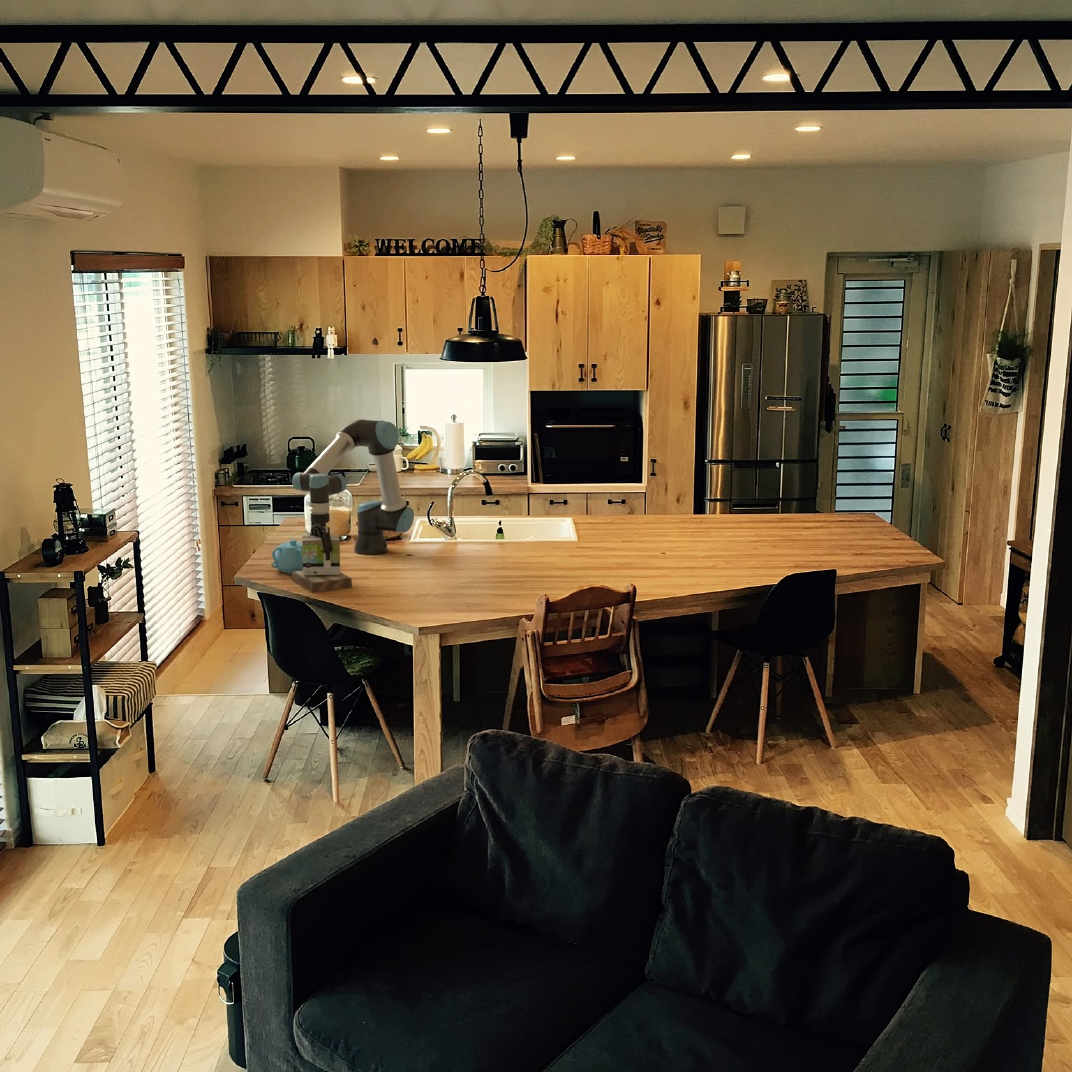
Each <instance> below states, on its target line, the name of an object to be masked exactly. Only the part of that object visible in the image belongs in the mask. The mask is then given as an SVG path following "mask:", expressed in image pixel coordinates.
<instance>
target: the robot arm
mask: <svg viewBox="0 0 1072 1072" xmlns="http://www.w3.org/2000/svg"><path fill="white" fill-rule="evenodd" d="M398 444H399V431H398V428H397V426H396V425H395V424H394V423H392V422H391V421H387V420H372V419H357V420H353V421H351V422H350V423H347V424H346V425H344V427H342V428H341V429H340V430H339V431H337V433H336V434H335V436H334V439H333V440H332V441H331V442H330V444H329V445H328V446H327V447H326V448H325V449H324V450H323V451H322V452H321V453H320V454H319V456H317V457H316V459H315V460H314V461H313V462H312V463H311V464H310V466H308V467H307V468H306V469H305V471H303V472H296V473H295V474H294V475H293V476H292V479H291V481H292V482H291V484H292V487H293V489H294V490H296V491H300V492H308V493H309V498H310V499H309V505H308V506H309V508H310V512H311V513H310V531H309V532H310V534H309V536H319V538H321V540H322V544H323V548H324V551H323V558H324V568H331V556H330V552H332V551H333V548H332V542H331V537H330V535H331V532H330V531H331V530H330V527H328V526H327V523H329V522H330V513H329V512H330V496H333V495H336V494H340V493H342V492H344V491H345V490H346V489H347V485H348V483H347V480H346V478H345V476H344V475H342V474H333V475H330V474H329V473H330V471H332V470H333V468H334V467H335V466H336V465H337V464H338V463H339V462H340V460H342V458H343V457H344V456H345V455H346V454H347V453H348V452H351V451H352V450H354V449H355V448H358V447H364V448H365V447H367V449H368V453H369V455H371V456H372V457H373V461H374V465H375V470H376V475H377V480H378V484H379V489H380V493H381V494H380V495H381V499H382V500H380V499H379V500H369V501H363V502H360V503H359V504H358V505H357V510H356V514H357V517H356V518H357V537H356V540H355V544H354V546H353V549H354V553H356V554H359V555H380V554H381V555H382V554H384V553H385V554H386V552H388V544H387V540H386V539H385V536H384V531H387V532H393V533H394V532H395V533H397V534H398V533H407V532H408V531H410V530H411V528H412V526H413V523H414V519H415V512H414V509H413V508H412V507H409V506H408V503H407V500H406V499H405V498H403V497H402V492H401V487H400V482H399V477H398V471H397V466H396V462H395V457H394V452H395V450H396V447H397V445H398Z"/></svg>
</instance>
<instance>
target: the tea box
mask: <svg viewBox="0 0 1072 1072" xmlns="http://www.w3.org/2000/svg"><path fill="white" fill-rule="evenodd" d="M339 535H340V534H338V535H335V534H334V535H331V534H330V537H331V542H332V548H333V551H332V552H330V556H331V568H324V558H323V551H324V548H323V544H322V540H321V538H319V536H310V535H302V536H301V539H302V540H301V543H302V565H303V576H304V575H339V574H340V572H341V549H340V548H341V540H340V536H339Z"/></svg>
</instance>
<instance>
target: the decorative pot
mask: <svg viewBox="0 0 1072 1072" xmlns="http://www.w3.org/2000/svg"><path fill="white" fill-rule="evenodd" d="M271 557H272V560H273V561H272V562H271V564H270V566H271V567H272V568H274V569H277V571H279V572H282V573H286V575H292V572H294V571H302V570H303V565H302V541H297V539H289V540H288V542H284V543H280V544H279V545H278V547H275V548H274V549H272V551H271Z"/></svg>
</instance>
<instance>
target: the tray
mask: <svg viewBox="0 0 1072 1072" xmlns="http://www.w3.org/2000/svg"><path fill="white" fill-rule="evenodd" d="M291 581H292V582H293V583H295V584H297V585H299V586H300V587H302V588H303V587H304V588H303V589H305V590H306V589H307V590H306V591H308V590H309V591H308V592H310V593H311V592H312V594H315V592H316V593H321V592H329V591H335V590H336V591H338V590H343V589H351V588H353V582H352V581H353V578H352V577H350V576H348V575H346V574H345V573H342V572H341V571H340V574H339V575H304V576H303V570H302V571H294V572H292V574H291ZM313 592H314V593H313Z"/></svg>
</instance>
